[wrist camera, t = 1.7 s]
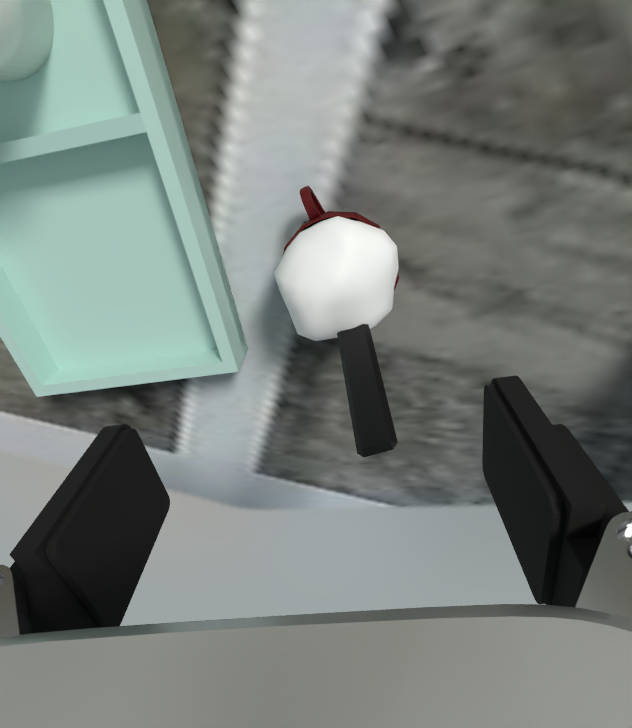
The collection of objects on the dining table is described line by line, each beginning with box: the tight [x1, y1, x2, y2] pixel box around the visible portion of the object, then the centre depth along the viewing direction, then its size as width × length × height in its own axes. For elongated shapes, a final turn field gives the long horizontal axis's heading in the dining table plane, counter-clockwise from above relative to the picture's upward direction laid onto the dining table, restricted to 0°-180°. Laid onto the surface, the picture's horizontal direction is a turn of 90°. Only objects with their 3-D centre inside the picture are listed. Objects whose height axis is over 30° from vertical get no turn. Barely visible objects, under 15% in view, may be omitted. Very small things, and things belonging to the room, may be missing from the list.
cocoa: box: [274, 186, 399, 457], centre depth 21 cm, size 10×6×12 cm, turn 1°
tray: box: [0, 0, 248, 397], centre depth 22 cm, size 14×26×3 cm, turn 10°
